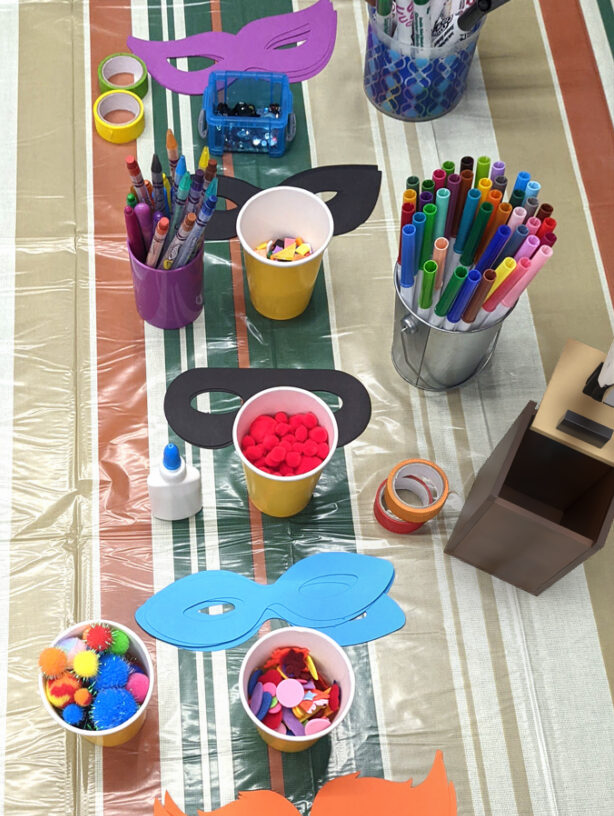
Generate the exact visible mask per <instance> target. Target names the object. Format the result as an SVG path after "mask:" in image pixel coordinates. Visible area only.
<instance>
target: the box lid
mask: <svg viewBox="0 0 614 816" xmlns="http://www.w3.org/2000/svg"><path fill="white" fill-rule="evenodd" d="M607 354H608V353H606V352H603V351H601V350H599V349H597V348H594V347H593V346H590V345H587V344H585V343H583V342H581V341H578V340H576V339H573V338H571V337H568V338H567V339H566V341H565V343H564V345H563V348H562V350H561V353H560V355H559V357H558V360H557V362H556V363H555V366H554V369H553V371H552V374H551V377H550V378H549V381H548V383H547V385H546V388H545V390H544V393H543V396H542V398H541V400H540V402H539V404H538V407H537V408H536V409H537V412H536V414H535V417H534V419H533V421H532V424H531V426H530V429H531V430H533V431H535V432H537V433H540V434H542V435H544V436H546V437H549V438H551V439H553V440H555V441H557V442H560V443H562V444H564V445H566V446H568V447H571V448H573V449H575V450H577V451H580V452H582V453H584V454H586V455H588V456H591V457H593V458H595V459H597V460H599V461H602V462H604V463H606V464H608V465H611V466H613V467H614V408H612V407H610V406H608V405H605V404H603V403H602V402H598V401H596V400H594V399H593V398H592V397H590V396H588V395H585V394H584V393H583V392H582V391H583V388H584V386H585V385H586V384H585V383H586V381H587V379H588V377H589V376H590V375H591V374H592V373H593V371H594V370H595V369H596V368H597V367H598V365H599V364H600V363H601V362H605V359H606V357H607Z"/></svg>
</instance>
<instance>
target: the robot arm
mask: <svg viewBox="0 0 614 816" xmlns="http://www.w3.org/2000/svg"><path fill="white" fill-rule="evenodd" d="M606 354H607V357H606V359H605V362H601V363H600V364H599V365H598V367H597V368H596V369H595V370H594V371H593V373H592V374H591V375H590V376H589V377H588V379H587V381H586V383H585V384H586V385H585V386H584V388H583V391H582V392H583V393H584V394H585V395H588V396H590V397H592V398H593V399H594V400H596V401H598V402H602V403H603V404H605V405H608V406H610V407H612V408H614V339H613V340H612V342H611V345H610V347H609V349H608V352H607V353H606Z"/></svg>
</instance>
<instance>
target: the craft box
mask: <svg viewBox="0 0 614 816" xmlns="http://www.w3.org/2000/svg"><path fill="white" fill-rule="evenodd" d="M537 406H538V402H536V401H534V400H532V399H530V400H528V402H527V403H526V405H525V406H524V408H523V409H522V411H521V412H520V413H519V414H518V415H517V417H516V419H515V420H514V421H513V423H512V424H511V425H510V427H509V428H508V430H507V431H506V432H505V434H504V435H503V437H502V438H501V439H500V440H499V442H498V443H497V445H496V446H495V448H494V449H493V450H492V452H491V453H490V454H489V455H488V457H487V459H486V460H485V461H484V463H483V464H482V465H481V467H480V468H479V470H478V472H477V473H476V476H475V478H474V481H473V483H472V485H471V488H470V490H469V492H468V494H467V497H466V499H465V501H464V504H463V506H462V508H461V511H460V513H459V515H458V517H457V520H456V522H455V525H454V526H453V529H452V531H451V533H450V536H449V538H448V540H447V543H446V545H445V547H444V549H443V553H445V554H447V555H450V556H451V557H453V558H454V559H456V560H457V559H458V560H459V561H462V562H464V563H466V564H468V565H469V566H472V567H474V568H477V569H478V570H481V571H483V572H484V573H487V574H489V575H491V576H493V577H495V578H497V579H499V580H502V581H504V582H505V583H507V584H510V585H512V586H514V587H516V588H518V589H520V590H523V591H524V592H526V593H528V594H531V595H533V596H535V597H539V596H541V594H542V593H544V592H545V591H546V590H548V589H549V588H550V587H552V586H553V585H555V584H556V583H557V582H558V581H560V580H561V579H563V578H564V577H566V576H567V575H568V574H570V573H571V572H572V571H573V570H575V569H576V568H577V567H579V566H580V565H582V564H583V563H584V562H585V561H587V560H588V559H590V558H591V557H593V556H594V555H595V554H596V553H597V552H599V551H601V550H602V549H603V548H604V547H605V544H606V541H607V538H608V536H609V533H610V530H611V528H612V525H613V522H614V467H613V466H611V465H608V464H606V463H604V462H602V461H599V460H597V459H595V458H593V457H591V456H588V455H586V454H584V453H582V452H580V451H577V450H575V449H573V448H571V447H568V446H566V445H564V444H562V443H560V442H557V441H555V440H553V439H551V438H549V437H546V436H544V435H542V434H540V433H537V432H535V431H533V430H531V429H530V426H531V424H532V421H533V419H534V417H535V414H536V412H537V409H538V408H536V407H537Z"/></svg>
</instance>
